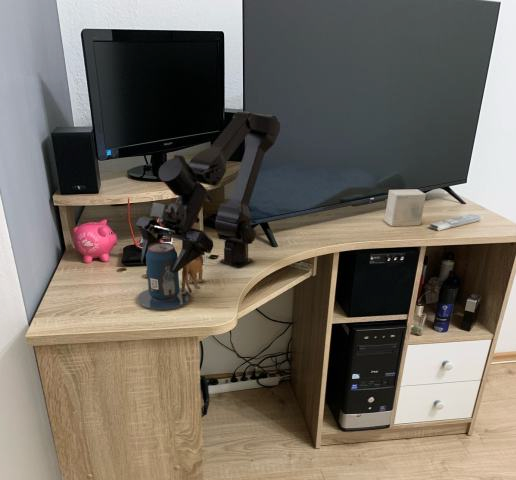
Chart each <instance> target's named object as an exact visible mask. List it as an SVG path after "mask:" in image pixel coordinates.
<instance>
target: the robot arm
mask: <svg viewBox="0 0 516 480" xmlns="http://www.w3.org/2000/svg"><path fill="white" fill-rule="evenodd" d="M278 119H279V118H277V116H276V115H272V114H264V113H263V114H262V113H254V112H251V111H243V110H238V111H236V112H235V113H234V114H233V116H232V119H231V120H230V122H229V123H228V124H227V126H226V127H225V128H224V130H222V132H221V133H220V134H219V136H217V138H216V140H215V141H214V142H213V143H212V144H211V146H209V147H208V148H206V149H204V150H201V151H199V152H197V154H196V155H194V156H193V157H192V158H191V159H190V161H189V162H187V160H186V159H185V157H184V156H183V155H181V154H174V156H173V157H172V158H171V159H168V160H166V161H165V162H164V163H163V164H161V165H160V166H159V169H158V172H157V175H158V178H159V179H160V180H161V181H162V183H163V184H164V185H165V186H166V187H167V188H168V189H169V190H170V191H171V193H172V194H173V195H174V196H177V198H176V201H175V202H170V203H169V204H164V203H160V202H155V201H152V203H151V208H150V213H149V217H147V216H141V217H139V218H138V219H137V221H136V223H135V227H136V228H137V229H138V232H139V233H140V234H141V235H142V236H141V237H142V250H141V258H140V263H141V264H142V265H146V253H147V251H148V246H149V245H151V244H154V243H162V241H160V240H161V239H163V238H164V237H167V238H171V239H175V240H179V241H181V249H180V251H179V254H178V255H177V257H178V258H177V260H176V262H175V264H174V267H173V270H172V271H173V272H174V273H177V272H178V273H179V272H180V271H182V270H183V267H185V266H186V265H187V264H189V263H190V262H191V261H193V260H194V259H196V258H197V257H199V256H201V255H202V256H203V257H204V256H205V255H206V254H210V255H211V253H212V250H213V248H214V241H213V239H212V238H211V237H210V236H209V235H208V234H207V233H206V232H205V230H201V229H197V228H194V224H199V223H200V221H201V219H200V218H199V214H200V213H201V210H202V208H203V206H204V204H205V203H206V202H209V203H212V201H213V197H212V195H211V189H210V188H209V189H208V188H205V186H204V185H208V186H218V185H219V184H220V183H221V181H222V179H223V177H224V176H225V174H226V172H227V163H228V161H229V159H230V158H231V157H232V156H233V155H234V153H235V151H236V150H237V149H238V148H239V147H240V145H241V144H242V142H243V141H244V140H245V144H246V147H245V150H244V153H243V156H242V160H241V163H240V166H239V169H238V173H237V176H236V180H235V183H234V186H233V189H232V192H231V196H230V199H229V200H228V201H227V202H226V203H221V204H220V205H219V207H218V211H217V214H216V216H215V223H214V224H215V225H214V226H215V230H216V234H217V238H218V240H223V241H224V247H223V258H221V259H220V261H219V262H220V263H222V264H225V265H229V266H231V267H235V268H241V267H243V266H246V265H248V264H250V263H252V262H253V258H250V257H249V245H252V244H253V242H255V239H256V233H257V232H256V231H255V230H254V229H253V227H252V226H251V225H250V224H251V219H252V217H251V212H250V209H249V206H250V202H251V199H252V195H253V192H254V189H255V186H256V182H257V179H258V177H259V173H260V170H261V167H262V163H263V160H264V157H265V154H266V153H267V152H268V151H269V150H270V149H271V148H272V147H273V146H274V145H275V143H276V141H277V138H278V136H279V134H280V132H281V123H280V121H279V120H278ZM154 218H156V219H159V221H158V222H157V221H156V219H154ZM162 225H163V226H162Z"/></svg>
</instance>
